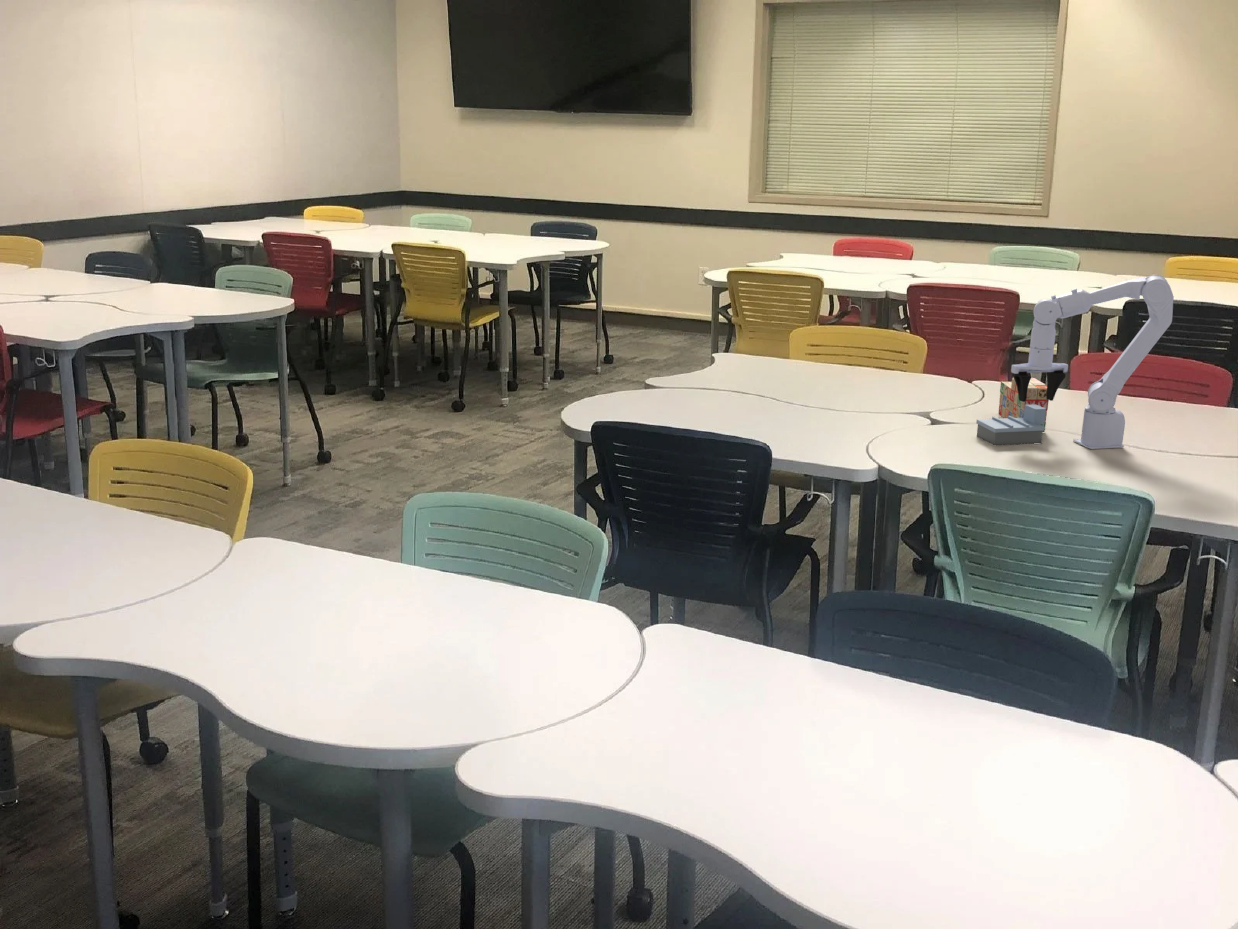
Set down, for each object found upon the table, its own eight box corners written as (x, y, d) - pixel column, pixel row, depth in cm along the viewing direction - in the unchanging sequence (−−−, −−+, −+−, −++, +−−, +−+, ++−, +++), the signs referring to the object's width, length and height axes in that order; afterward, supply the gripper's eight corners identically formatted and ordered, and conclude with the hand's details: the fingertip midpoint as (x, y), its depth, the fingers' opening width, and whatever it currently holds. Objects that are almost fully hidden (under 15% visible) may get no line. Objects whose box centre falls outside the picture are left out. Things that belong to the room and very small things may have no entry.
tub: (1022, 434, 311) (1024, 421, 310) (1041, 443, 302) (1042, 430, 301) (976, 436, 308) (977, 423, 307) (993, 445, 300) (995, 432, 299)
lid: (1028, 421, 310) (1030, 402, 309) (1048, 430, 301) (1050, 410, 300) (976, 423, 307) (978, 404, 306) (994, 432, 298) (996, 413, 297)
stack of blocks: (997, 413, 333) (1001, 370, 330) (1020, 414, 333) (1024, 370, 330) (1021, 433, 313) (1026, 387, 309) (1045, 433, 313) (1050, 387, 309)
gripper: (1059, 343, 305) (1053, 395, 309) (1007, 345, 302) (1001, 397, 306) (1074, 348, 298) (1068, 402, 302) (1021, 350, 296) (1016, 404, 299)
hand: (1036, 400), depth 304 cm, fingers open, 7 cm apart
